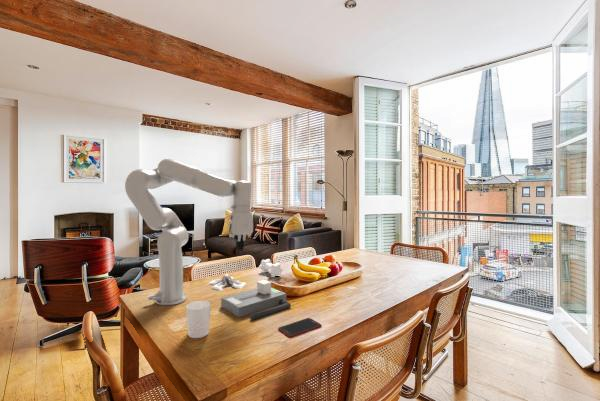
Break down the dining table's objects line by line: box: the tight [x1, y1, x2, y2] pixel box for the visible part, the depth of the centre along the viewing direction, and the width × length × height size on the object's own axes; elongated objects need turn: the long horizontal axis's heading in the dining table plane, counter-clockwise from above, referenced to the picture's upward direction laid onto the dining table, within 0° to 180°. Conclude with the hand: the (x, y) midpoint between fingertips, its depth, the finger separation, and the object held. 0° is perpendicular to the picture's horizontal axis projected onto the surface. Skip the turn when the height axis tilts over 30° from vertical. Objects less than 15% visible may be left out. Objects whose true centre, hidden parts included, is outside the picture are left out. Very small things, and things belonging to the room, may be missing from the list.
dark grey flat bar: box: [249, 300, 292, 321], centre depth 122 cm, size 20×6×2 cm, turn 133°
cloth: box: [208, 273, 247, 291], centre depth 157 cm, size 22×19×6 cm
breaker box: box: [220, 286, 287, 318], centre depth 129 cm, size 24×14×4 cm, turn 133°
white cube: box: [256, 279, 272, 294], centre depth 132 cm, size 4×5×4 cm
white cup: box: [185, 300, 212, 339], centre depth 102 cm, size 8×8×10 cm
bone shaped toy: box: [258, 258, 284, 278], centre depth 174 cm, size 15×9×8 cm, turn 34°
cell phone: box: [277, 317, 322, 339], centre depth 108 cm, size 8×15×1 cm, turn 127°
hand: (239, 249), depth 133 cm, fingers closed
